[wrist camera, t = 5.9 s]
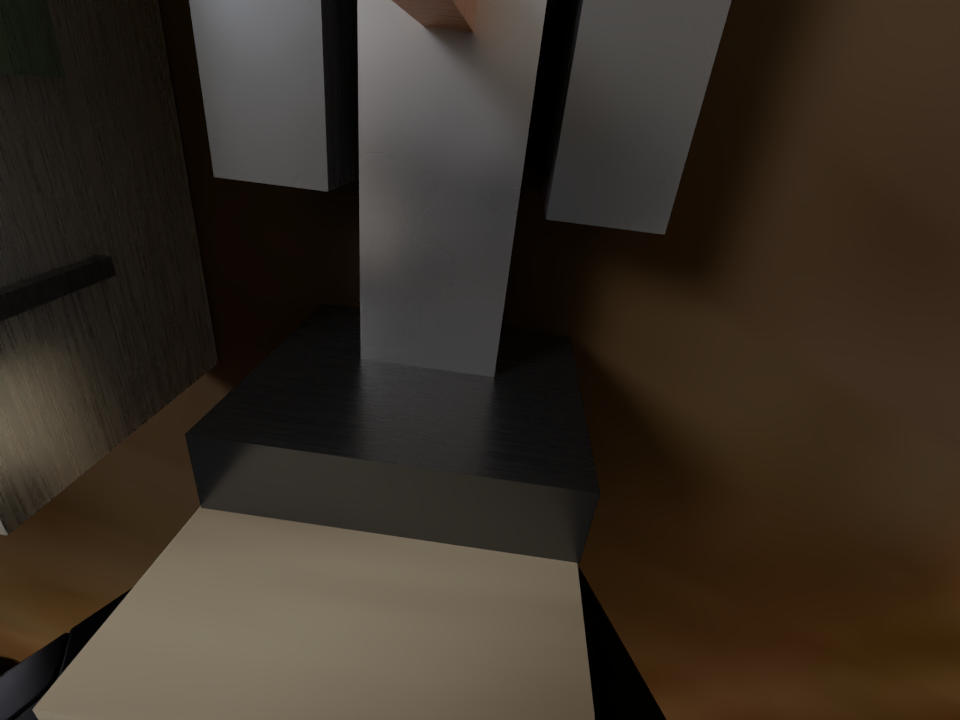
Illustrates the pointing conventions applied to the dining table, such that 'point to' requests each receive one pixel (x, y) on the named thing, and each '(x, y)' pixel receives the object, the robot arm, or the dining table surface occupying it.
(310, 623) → the block
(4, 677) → the robot arm
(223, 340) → the dining table surface
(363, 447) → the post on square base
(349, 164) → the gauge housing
